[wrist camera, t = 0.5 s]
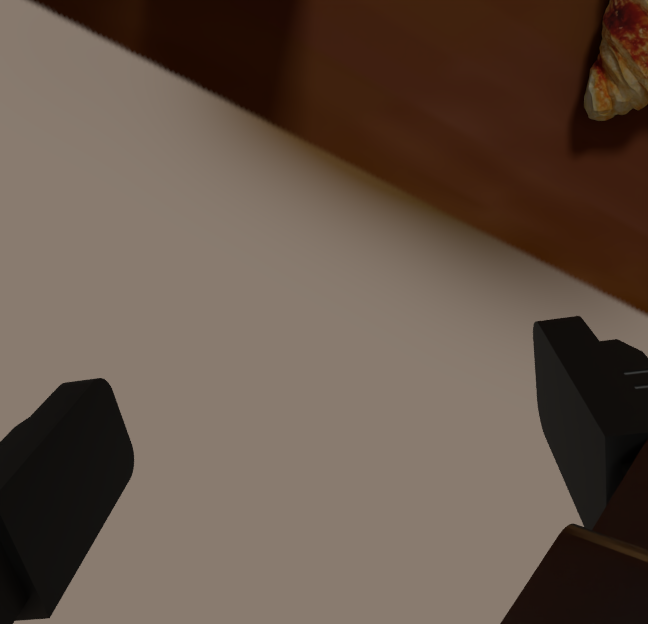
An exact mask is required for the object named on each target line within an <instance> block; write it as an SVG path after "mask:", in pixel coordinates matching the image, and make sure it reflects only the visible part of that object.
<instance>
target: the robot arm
mask: <svg viewBox="0 0 648 624" xmlns="http://www.w3.org/2000/svg"><path fill="white" fill-rule="evenodd" d="M533 341H534V357H535V372H536V388H537V402H538V410H539V416H540V421H541V425H542V429H543V432H544V435H545V437H546V439H547V442H548V444H549V447H550V449H551V451H552V453H553V456H554V458H555V460H556V463H557V465H558V467H559V470H560V472H561V474H562V476H563V478H564V481H565V483H566V486H567V488H568V490H569V493H570V495H571V497H572V499H573V502H574V504H575V506H576V509H577V511H578V513H579V515H580V518H581V520H582V522H583V525H584V527H582V526H579V525H576V524H570V525H568V526H567V527H565V528H564V529H563V530H562V532H561V533H560V534H559V536H558V537H557V539H556V540H555V542H554V543H553V545H552V546H551V548H550V549H549V551H548V552H547V554H546V555H545V557H544V558H543V560H542V561H541V563H540V565H539V566H538V568H537V569H536V570H535V572H534V574H533V575H532V577H531V578H530V580H529V581H528V583H527V584H526V586H525V587H524V589H523V590H522V592H521V593H520V595H519V596H518V598H517V599H516V601H515V602H514V604H513V606H512V607H511V608H510V610H509V612H508V613H507V615H506V616H505V618H504V619H503V621H502V622H501V624H648V358H647V356H646V355H645V354H644V353H643V352H642V351H640V350H638V349H636V348H634V347H632V346H629V345H628V344H626V343H624V342H621V341H620V340H617V339H615V340H607V341H599V340H598V339H597V337H596V336H595V335H594V334H593V332H592V331H591V329H590V328H589V327H588V326H587V324H586V323H585V322H584V320H583V319H582V318H581V317H580V316H575V317H567V318H560V319H552V320H545V321H537V322H535V323H534V327H533ZM133 467H134V452H133V447H132V444H131V441H130V438H129V435H128V433H127V430H126V427H125V424H124V421H123V419H122V416H121V413H120V410H119V407H118V404H117V402H116V399H115V396H114V393H113V391H112V388H111V386H110V385H109V383H108V382H107V381H106V380H105V379H102V378H97V379H90V380H82V381H75V382H67V383H63V384H61V385H60V386H59V387H58V388H57V389H56V390H55V391H54V392H53V393H52V394H51V396H49V397H48V398H47V399H46V400H45V402H44V403H43V404H42V405H41V406H40V407H39V408H38V409H37V410H36V411H35V412H34V413H33V414H32V415H31V417H29V418H28V419H26V420H25V421H23V422H22V423H20V424H19V425H17V426H16V427H15V428H14V429H12V430H11V432H10V433H9V434H8V435H7V436H6V437H5V438H4V439H3V440H2V441H1V442H0V624H13V623H14V621H16V620H31V619H45V618H50V616H51V615H52V613H53V611H54V609H55V608H56V606H57V604H58V603H59V601H60V599H61V597H62V596H63V594H64V592H65V590H66V589H67V587H68V585H69V583H70V582H71V580H72V578H73V577H74V575H75V573H76V571H77V570H78V568H79V566H80V565H81V563H82V561H83V559H84V558H85V556H86V554H87V553H88V551H89V549H90V547H91V546H92V544H93V542H94V540H95V539H96V537H97V535H98V533H99V532H100V530H101V528H102V527H103V525H104V523H105V521H106V520H107V518H108V516H109V515H110V513H111V511H112V509H113V508H114V506H115V504H116V502H117V501H118V499H119V497H120V496H121V494H122V492H123V490H124V489H125V487H126V485H127V483H128V482H129V480H130V478H131V476H132V473H133Z"/></svg>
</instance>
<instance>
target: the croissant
mask: <svg viewBox="0 0 648 624" xmlns="http://www.w3.org/2000/svg"><path fill="white" fill-rule="evenodd" d="M602 24H603V29H602V38H603V39H602V41H601V45H600V48H599V49H600V54H598V58H597V60H596V61H595V62H594V63H593V65H592V67H591V69H590V76H589V80H588V84H587V88H586V93H585V96H584V108H585V110H586V111H587V114H588V116H589V118H590V119H593V120H597V121H605V120H608V119H611V118H613V117H614V115H617V114H619V115H624V114H627V113H628V112H629V111H630V110H632V109H633V108H634V109H636V110H640V109H642V108H644V107H645V106H646V105H647V104H648V0H610V1H609V5H608V6H607V8H606V11H605V13H604V15H603V23H602Z"/></svg>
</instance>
